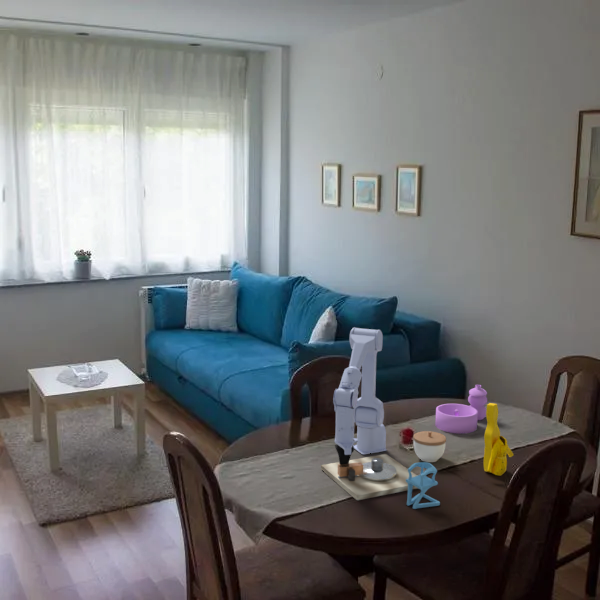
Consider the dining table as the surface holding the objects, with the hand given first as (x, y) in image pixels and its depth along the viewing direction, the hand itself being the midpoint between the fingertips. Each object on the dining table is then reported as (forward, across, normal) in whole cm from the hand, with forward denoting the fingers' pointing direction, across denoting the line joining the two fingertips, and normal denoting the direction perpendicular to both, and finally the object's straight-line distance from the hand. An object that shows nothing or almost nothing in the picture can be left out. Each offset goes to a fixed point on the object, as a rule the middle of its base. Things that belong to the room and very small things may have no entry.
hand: (343, 467), depth 231 cm
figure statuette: (+4, +3, -49) cm, 50 cm away
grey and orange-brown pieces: (+2, -1, -7) cm, 8 cm away
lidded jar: (+4, +14, -31) cm, 34 cm away
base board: (+4, 0, -9) cm, 10 cm away
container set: (+4, +47, -53) cm, 71 cm away
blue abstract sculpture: (+4, -18, -20) cm, 27 cm away
